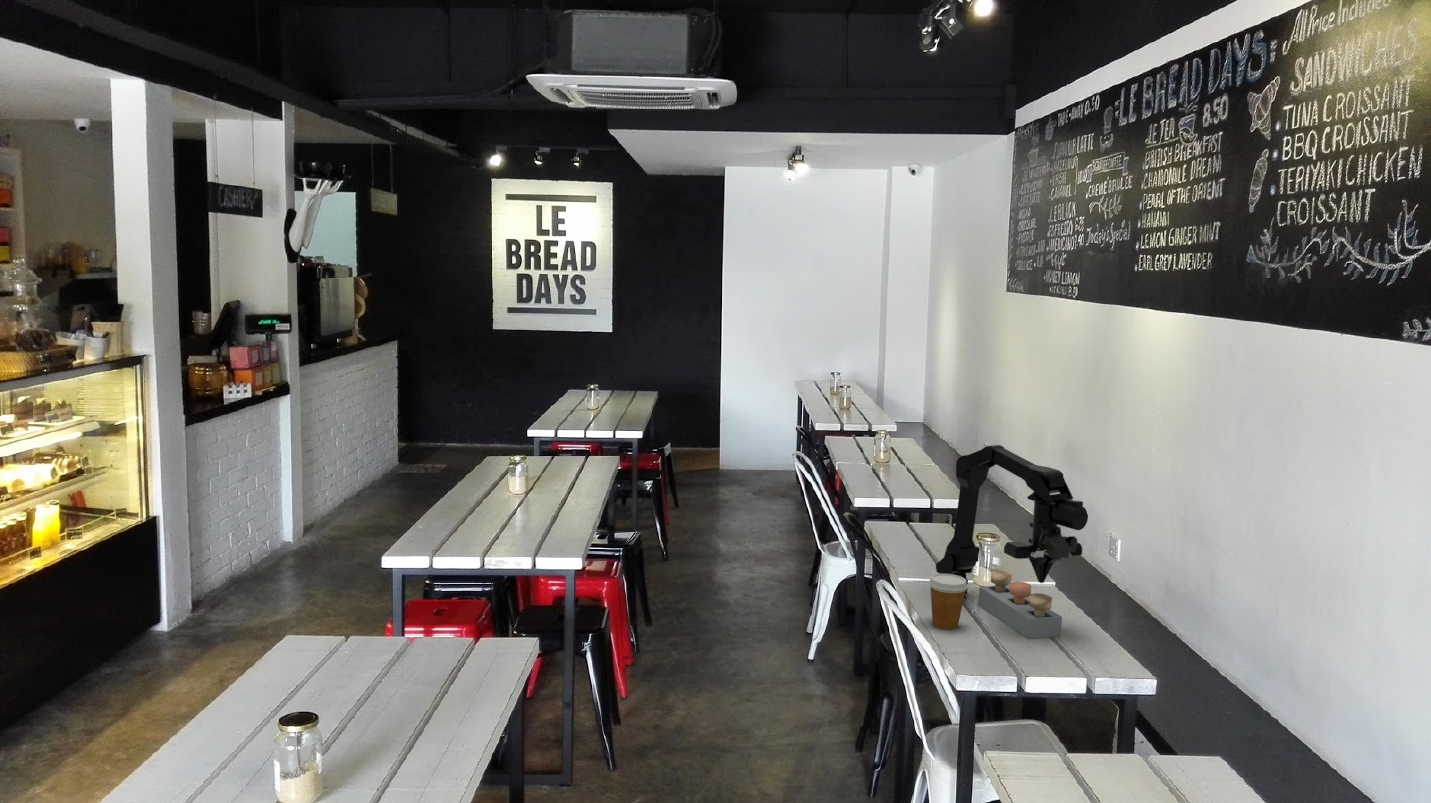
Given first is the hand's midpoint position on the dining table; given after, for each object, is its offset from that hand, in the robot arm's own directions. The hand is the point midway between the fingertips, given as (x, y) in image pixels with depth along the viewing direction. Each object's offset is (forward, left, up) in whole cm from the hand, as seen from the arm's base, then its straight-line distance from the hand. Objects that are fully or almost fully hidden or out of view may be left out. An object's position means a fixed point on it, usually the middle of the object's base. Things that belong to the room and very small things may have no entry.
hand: (1041, 582), depth 251 cm
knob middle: (-3, +7, -11) cm, 13 cm away
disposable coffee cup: (-22, +1, -13) cm, 26 cm away
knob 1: (-6, +16, -11) cm, 20 cm away
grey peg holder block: (-3, +7, -13) cm, 15 cm away
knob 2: (0, -2, -11) cm, 11 cm away
